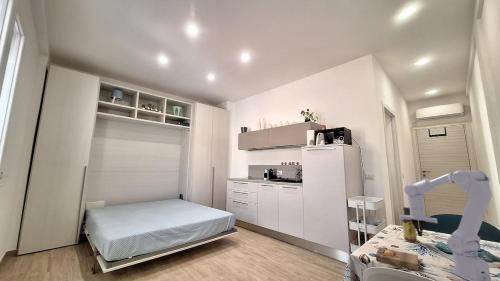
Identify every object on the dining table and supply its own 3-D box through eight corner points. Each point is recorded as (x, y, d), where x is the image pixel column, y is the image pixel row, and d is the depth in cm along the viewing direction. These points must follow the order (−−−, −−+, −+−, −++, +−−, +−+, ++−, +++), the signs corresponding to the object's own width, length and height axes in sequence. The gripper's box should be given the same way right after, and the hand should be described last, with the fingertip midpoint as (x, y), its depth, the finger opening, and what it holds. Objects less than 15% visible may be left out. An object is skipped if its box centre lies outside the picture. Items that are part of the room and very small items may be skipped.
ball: (386, 260, 101) (395, 261, 99) (383, 256, 100) (393, 257, 97) (385, 252, 104) (394, 252, 101) (382, 248, 102) (392, 248, 100)
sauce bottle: (412, 243, 120) (407, 208, 123) (401, 239, 126) (397, 206, 128) (420, 241, 122) (415, 207, 124) (409, 238, 127) (405, 206, 130)
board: (418, 260, 98) (417, 254, 98) (418, 270, 89) (417, 264, 89) (379, 252, 108) (379, 247, 108) (376, 260, 99) (375, 255, 99)
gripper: (434, 208, 102) (439, 236, 101) (399, 205, 112) (403, 231, 110) (435, 210, 97) (440, 240, 95) (398, 207, 106) (402, 234, 104)
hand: (420, 235), depth 102 cm, fingers closed
